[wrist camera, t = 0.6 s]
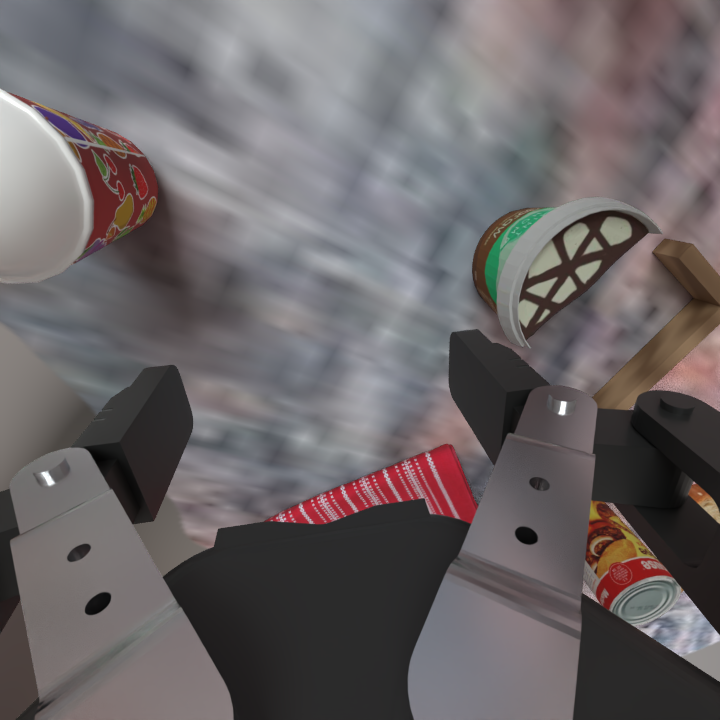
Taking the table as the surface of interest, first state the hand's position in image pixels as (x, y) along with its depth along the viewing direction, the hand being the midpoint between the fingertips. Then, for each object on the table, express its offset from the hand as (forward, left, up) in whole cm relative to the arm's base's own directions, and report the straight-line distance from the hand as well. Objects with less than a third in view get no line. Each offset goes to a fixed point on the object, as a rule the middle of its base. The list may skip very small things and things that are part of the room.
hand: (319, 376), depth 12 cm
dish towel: (+23, +26, -25) cm, 42 cm away
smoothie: (+5, -14, -24) cm, 28 cm away
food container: (-10, +14, -24) cm, 30 cm away
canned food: (+9, +48, -24) cm, 54 cm away
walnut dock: (-10, +31, -24) cm, 41 cm away
